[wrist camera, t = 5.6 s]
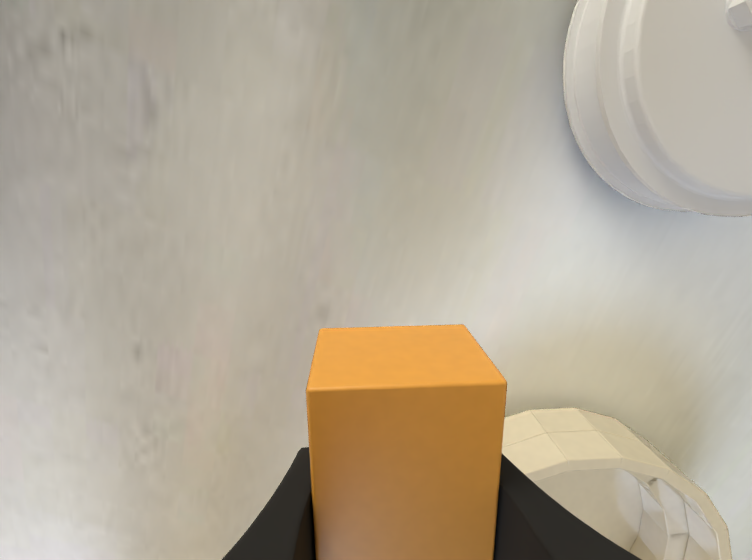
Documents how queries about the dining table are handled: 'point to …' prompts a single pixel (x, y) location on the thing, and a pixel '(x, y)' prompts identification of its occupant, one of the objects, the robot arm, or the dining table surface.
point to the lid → (664, 100)
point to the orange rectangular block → (404, 444)
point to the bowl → (616, 484)
